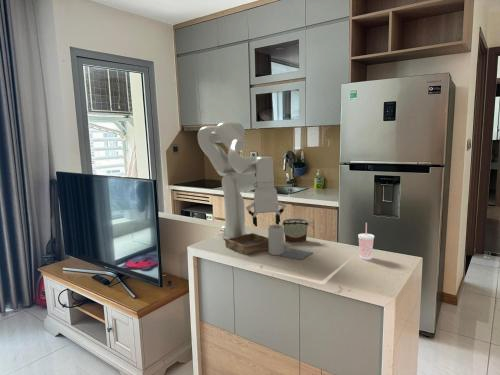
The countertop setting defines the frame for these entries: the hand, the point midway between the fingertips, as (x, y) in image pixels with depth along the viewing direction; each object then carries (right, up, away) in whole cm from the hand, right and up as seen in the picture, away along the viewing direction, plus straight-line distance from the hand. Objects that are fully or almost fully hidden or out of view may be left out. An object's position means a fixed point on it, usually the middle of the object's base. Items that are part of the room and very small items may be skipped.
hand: (266, 224), depth 154 cm
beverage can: (+4, -12, -5) cm, 13 cm away
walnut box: (-7, -10, +4) cm, 13 cm away
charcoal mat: (+12, -11, -8) cm, 18 cm away
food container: (+14, -9, +13) cm, 21 cm away
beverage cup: (+39, -12, -13) cm, 42 cm away
